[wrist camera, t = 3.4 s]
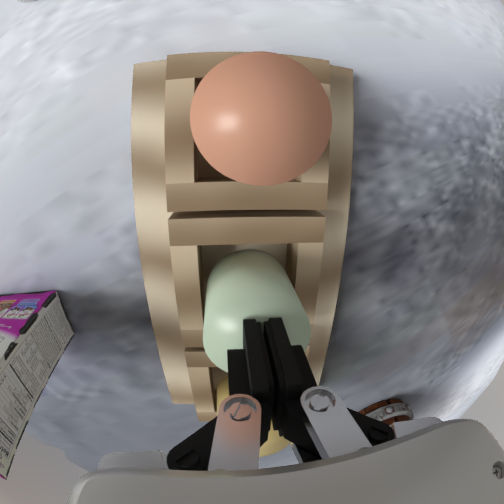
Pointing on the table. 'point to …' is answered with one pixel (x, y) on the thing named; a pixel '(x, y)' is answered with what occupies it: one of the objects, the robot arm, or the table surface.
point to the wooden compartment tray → (229, 218)
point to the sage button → (249, 302)
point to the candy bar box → (27, 360)
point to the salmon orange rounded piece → (260, 118)
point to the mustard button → (274, 440)
